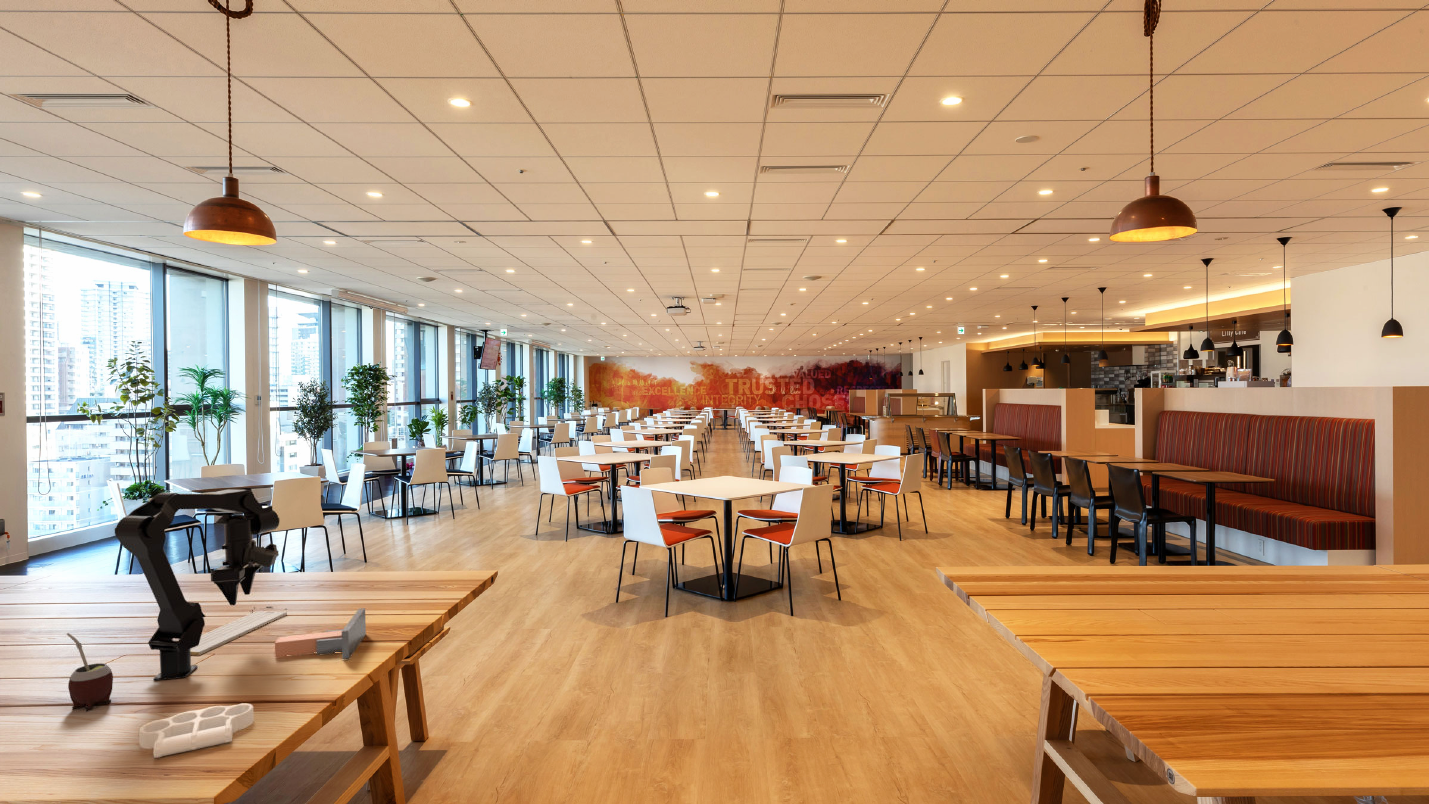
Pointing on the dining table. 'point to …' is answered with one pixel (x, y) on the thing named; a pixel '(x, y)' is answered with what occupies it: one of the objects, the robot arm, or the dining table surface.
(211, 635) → the baseboard
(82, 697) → the mate gourd
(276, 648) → the rail
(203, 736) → the knuckle duster
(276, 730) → the dining table surface
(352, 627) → the bracket
